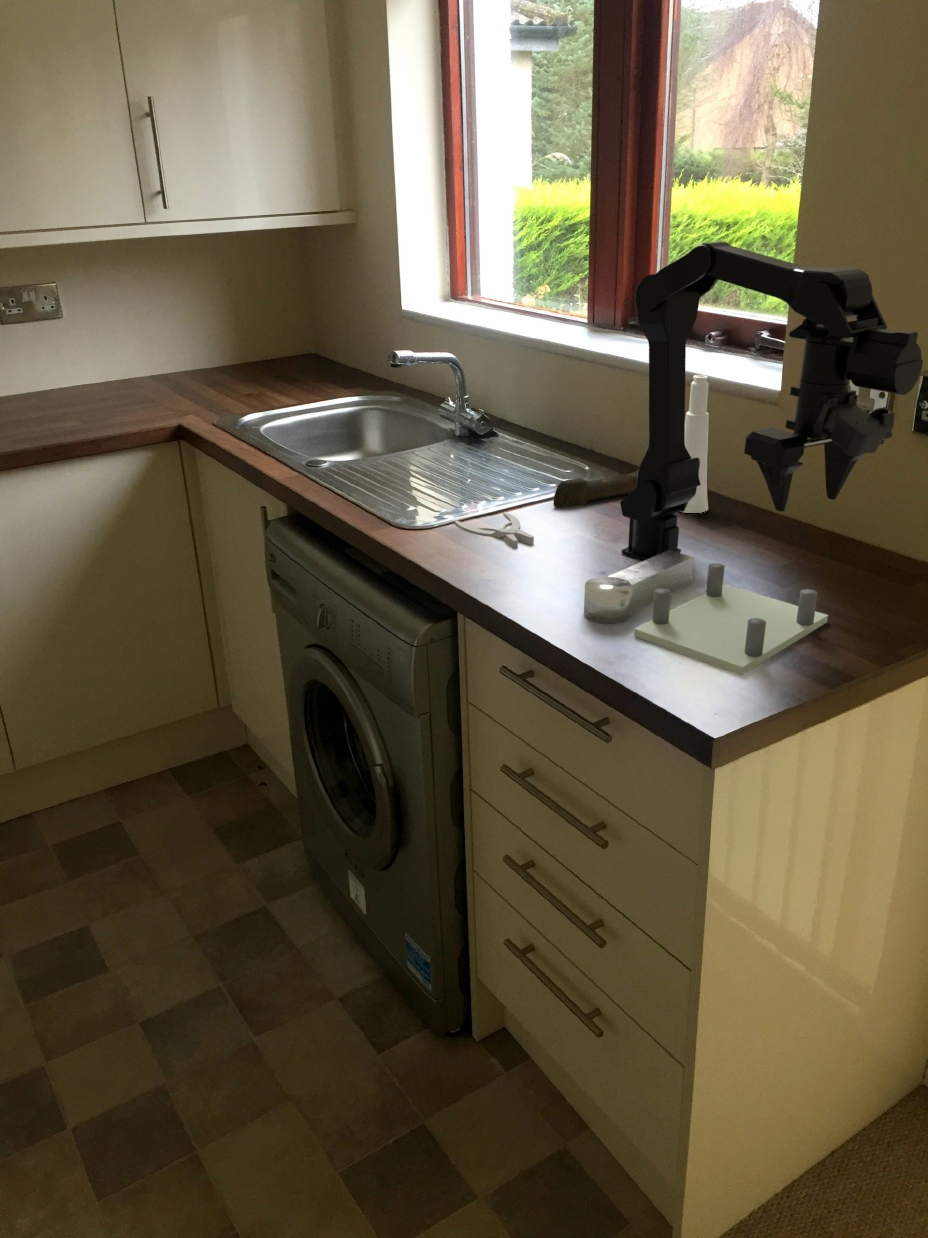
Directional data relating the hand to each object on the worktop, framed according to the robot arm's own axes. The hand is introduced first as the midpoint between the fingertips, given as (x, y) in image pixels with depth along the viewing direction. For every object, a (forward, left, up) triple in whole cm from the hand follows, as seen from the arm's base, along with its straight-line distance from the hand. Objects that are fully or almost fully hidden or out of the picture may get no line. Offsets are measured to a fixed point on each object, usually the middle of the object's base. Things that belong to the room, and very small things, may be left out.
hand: (806, 504), depth 128 cm
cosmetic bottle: (-32, +24, -14) cm, 43 cm away
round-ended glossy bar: (-15, -13, -13) cm, 24 cm away
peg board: (-1, -13, -14) cm, 19 cm away
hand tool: (-46, +18, -14) cm, 52 cm away
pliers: (-47, -6, -14) cm, 50 cm away
